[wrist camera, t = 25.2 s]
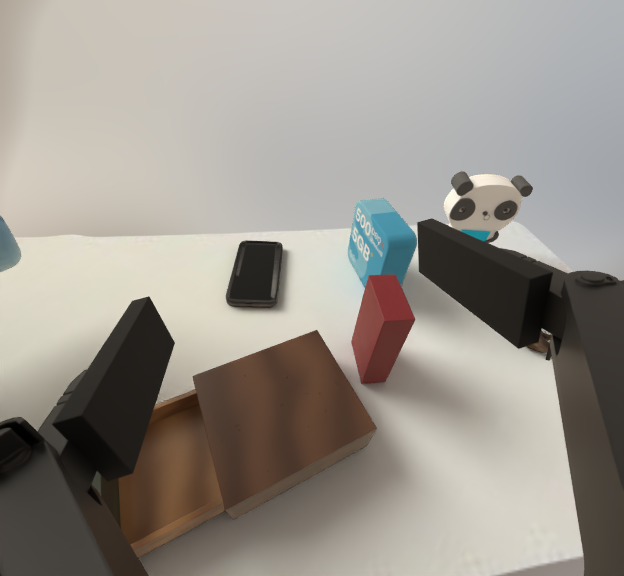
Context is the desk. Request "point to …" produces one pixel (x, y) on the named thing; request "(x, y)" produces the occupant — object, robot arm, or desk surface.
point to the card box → (380, 327)
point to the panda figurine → (484, 203)
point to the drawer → (166, 479)
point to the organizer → (278, 420)
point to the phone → (255, 274)
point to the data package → (380, 241)
